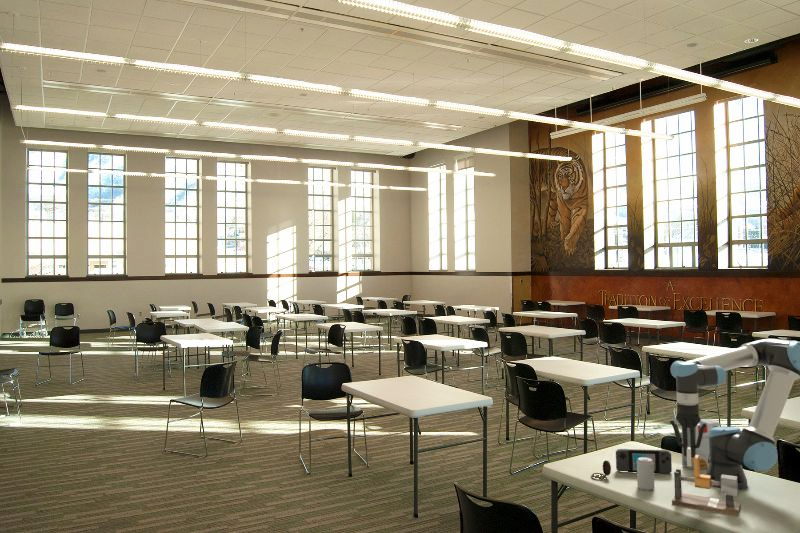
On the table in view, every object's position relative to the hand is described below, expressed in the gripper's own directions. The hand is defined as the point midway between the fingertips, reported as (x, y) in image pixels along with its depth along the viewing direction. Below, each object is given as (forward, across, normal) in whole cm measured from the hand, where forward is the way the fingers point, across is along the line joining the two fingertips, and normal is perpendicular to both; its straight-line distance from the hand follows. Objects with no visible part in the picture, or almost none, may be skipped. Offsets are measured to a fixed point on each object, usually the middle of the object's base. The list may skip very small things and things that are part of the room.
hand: (689, 465), depth 229 cm
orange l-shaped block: (+7, +4, 0) cm, 8 cm away
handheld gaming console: (+15, -23, +28) cm, 39 cm away
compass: (+15, -37, +11) cm, 41 cm away
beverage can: (+15, -18, +8) cm, 24 cm away
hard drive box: (+15, -3, +50) cm, 52 cm away
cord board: (+14, +5, 0) cm, 15 cm away
